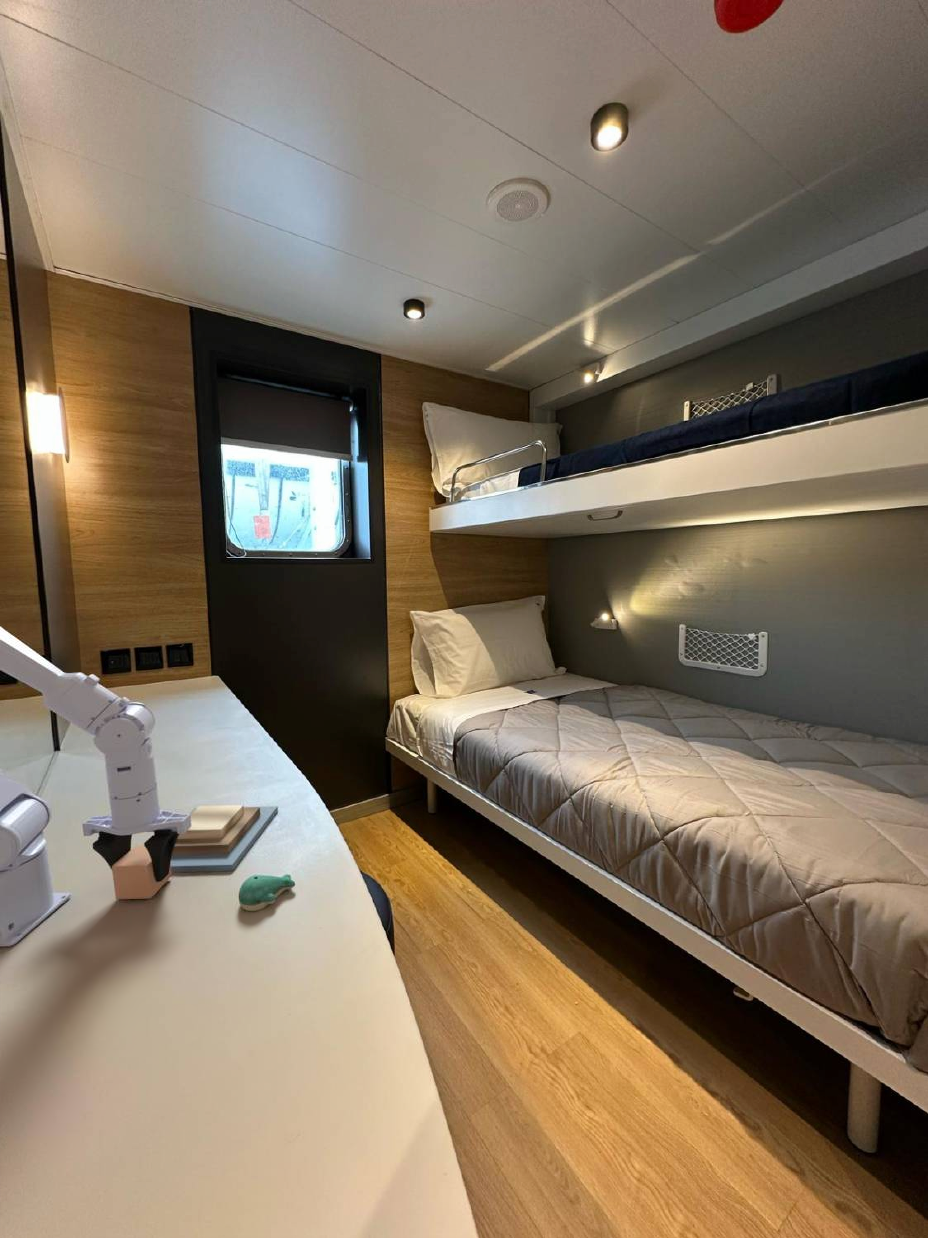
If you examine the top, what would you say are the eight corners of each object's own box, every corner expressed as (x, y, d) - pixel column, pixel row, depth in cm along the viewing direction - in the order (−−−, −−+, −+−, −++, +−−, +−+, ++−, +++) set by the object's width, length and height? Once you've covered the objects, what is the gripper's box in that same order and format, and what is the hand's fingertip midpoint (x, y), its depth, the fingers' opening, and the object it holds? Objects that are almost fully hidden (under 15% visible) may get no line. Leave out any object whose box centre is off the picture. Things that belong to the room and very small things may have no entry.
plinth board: (232, 870, 76) (230, 846, 75) (130, 873, 76) (127, 849, 75) (277, 811, 93) (276, 791, 93) (195, 813, 94) (193, 793, 93)
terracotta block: (150, 898, 69) (146, 865, 69) (115, 899, 69) (111, 866, 69) (171, 875, 74) (168, 845, 73) (139, 876, 74) (135, 845, 74)
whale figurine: (235, 898, 69) (233, 874, 69) (287, 877, 74) (285, 854, 73) (245, 922, 65) (242, 895, 64) (300, 898, 69) (298, 873, 69)
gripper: (199, 776, 74) (207, 860, 75) (104, 778, 74) (114, 862, 76) (170, 799, 67) (180, 890, 68) (66, 801, 67) (78, 893, 69)
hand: (143, 878), depth 71 cm, fingers closed on terracotta block, 5 cm apart
